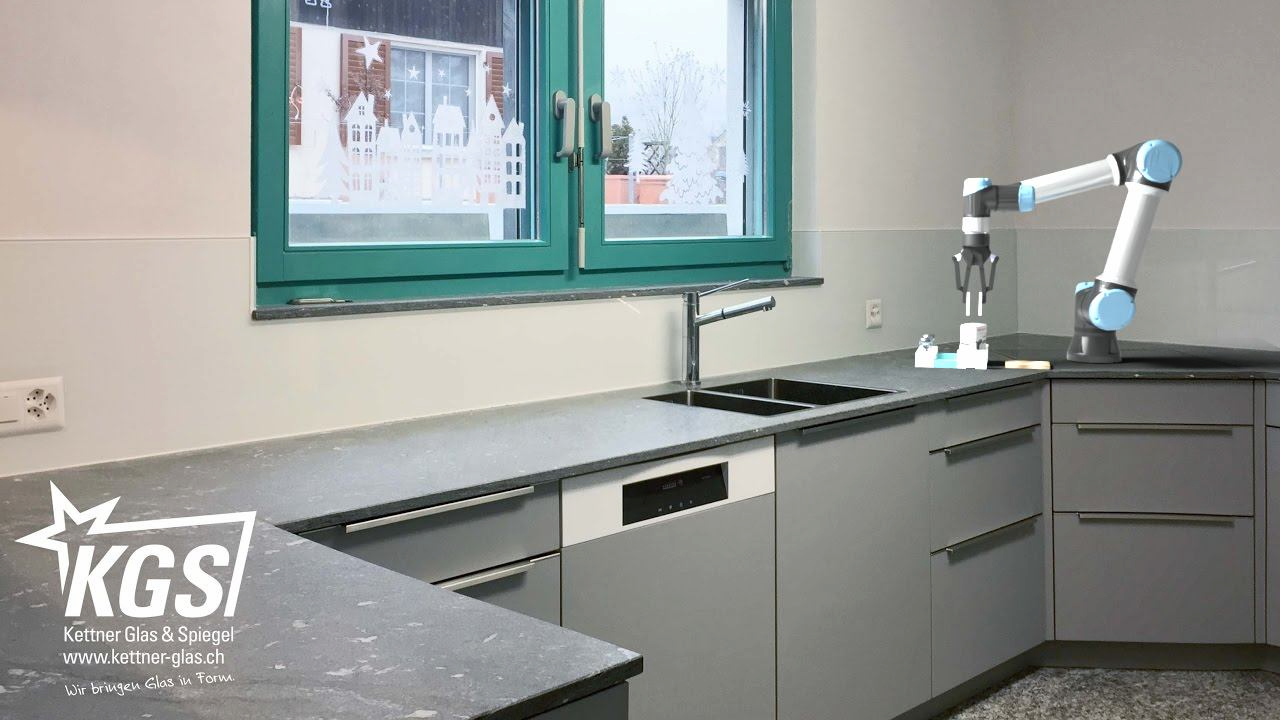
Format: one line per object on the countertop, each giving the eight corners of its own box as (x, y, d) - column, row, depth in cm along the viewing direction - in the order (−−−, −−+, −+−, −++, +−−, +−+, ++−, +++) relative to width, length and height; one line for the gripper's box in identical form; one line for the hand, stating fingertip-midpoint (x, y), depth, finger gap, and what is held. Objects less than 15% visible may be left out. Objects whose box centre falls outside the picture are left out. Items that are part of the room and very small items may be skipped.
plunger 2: (932, 361, 349) (932, 337, 348) (931, 363, 346) (932, 338, 345) (919, 361, 350) (920, 337, 349) (918, 362, 347) (919, 338, 346)
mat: (1048, 365, 347) (1049, 361, 347) (1049, 369, 338) (1050, 365, 338) (1005, 363, 351) (1005, 360, 351) (1005, 367, 341) (1005, 364, 341)
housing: (987, 361, 357) (988, 344, 356) (986, 369, 339) (986, 351, 338) (920, 359, 362) (920, 342, 362) (915, 366, 344) (915, 349, 344)
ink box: (975, 366, 344) (976, 325, 343) (958, 365, 347) (959, 324, 346) (986, 363, 351) (987, 323, 349) (970, 362, 354) (971, 322, 352)
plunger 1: (934, 357, 358) (935, 334, 358) (933, 358, 355) (934, 335, 354) (921, 357, 359) (922, 333, 359) (921, 358, 356) (921, 334, 355)
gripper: (1005, 232, 346) (1002, 314, 348) (948, 232, 350) (946, 313, 353) (1004, 233, 338) (1002, 316, 341) (946, 233, 343) (944, 315, 346)
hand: (973, 314), depth 347 cm, fingers open, 3 cm apart
